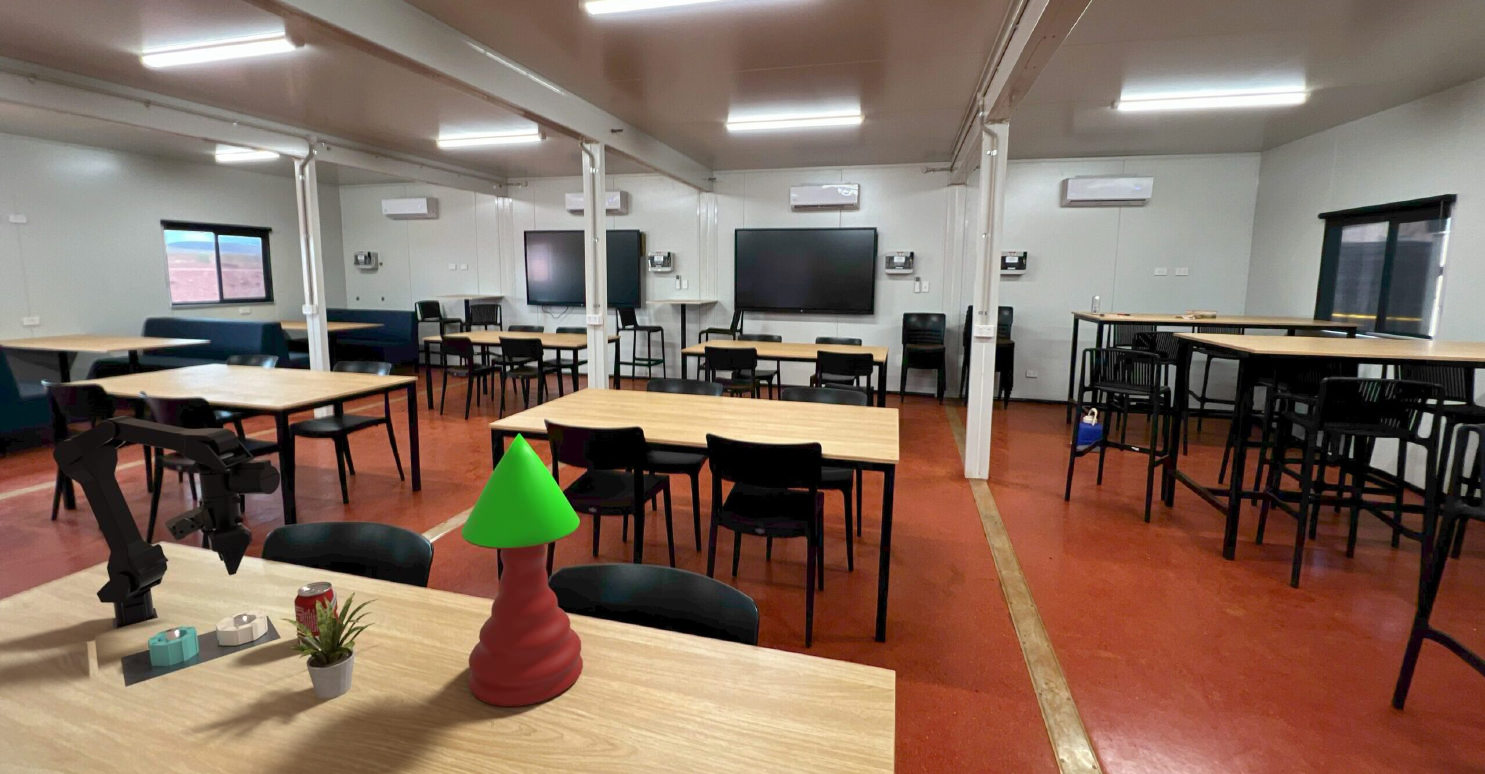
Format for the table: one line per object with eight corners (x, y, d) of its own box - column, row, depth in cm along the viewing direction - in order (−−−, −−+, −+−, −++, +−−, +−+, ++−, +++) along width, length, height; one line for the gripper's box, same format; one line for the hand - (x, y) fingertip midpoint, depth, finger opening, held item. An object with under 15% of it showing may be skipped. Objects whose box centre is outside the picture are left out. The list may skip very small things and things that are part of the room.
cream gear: (215, 634, 127) (213, 620, 126) (262, 620, 132) (260, 606, 132) (221, 650, 122) (220, 635, 121) (270, 634, 127) (269, 620, 126)
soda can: (320, 657, 122) (315, 598, 120) (289, 653, 123) (284, 593, 121) (348, 639, 129) (344, 581, 127) (319, 634, 130) (314, 578, 128)
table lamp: (537, 633, 132) (531, 416, 125) (605, 667, 121) (602, 431, 114) (445, 680, 116) (431, 434, 109) (513, 724, 105) (503, 454, 98)
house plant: (406, 675, 117) (400, 590, 115) (336, 723, 104) (328, 629, 102) (346, 659, 122) (340, 577, 119) (272, 703, 109) (263, 612, 106)
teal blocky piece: (149, 655, 120) (146, 635, 119) (195, 641, 124) (193, 622, 124) (153, 670, 115) (150, 649, 114) (200, 655, 120) (198, 635, 119)
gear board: (121, 663, 119) (117, 631, 118) (267, 620, 135) (265, 592, 134) (126, 692, 111) (122, 659, 110) (281, 643, 126) (278, 613, 126)
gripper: (160, 490, 130) (170, 564, 133) (172, 515, 117) (182, 596, 120) (230, 479, 138) (238, 549, 140) (248, 501, 125) (256, 577, 128)
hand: (228, 567), depth 132 cm, fingers open, 9 cm apart
